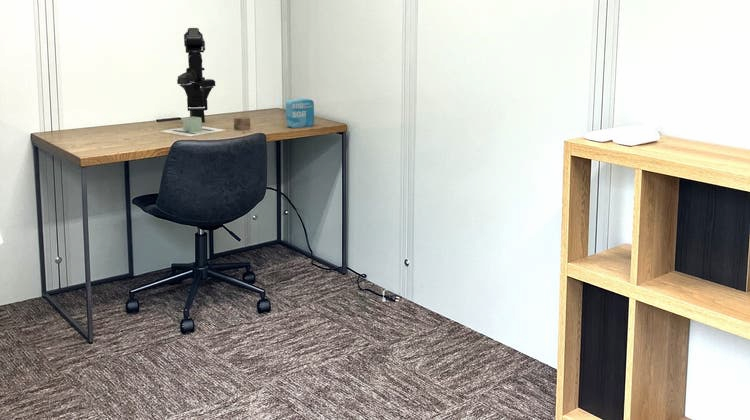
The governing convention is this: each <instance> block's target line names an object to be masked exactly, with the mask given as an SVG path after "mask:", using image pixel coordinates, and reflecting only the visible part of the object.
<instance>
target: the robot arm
mask: <svg viewBox="0 0 750 420" xmlns="http://www.w3.org/2000/svg"><path fill="white" fill-rule="evenodd" d="M183 43H184V47H185V53H186V54H187V61H188V67H186V69H185V72H183V73H181V74H180V75H178V76H177V79H176V81H177V85H179V86H180V87H181V88H182V89H183V91H184V92H185V95H186V105H187V106H186V107H187V111H188V112H189V117H200V118H201V119H202V123H205V122H206V118H205V117H206V116H205V111H208V97H209V95H210V93H211V91H212V90H213V89H214V87H216V80H214V79H212V78H211V79H210V78H207V79H206V77H204V76H203V73H204V72H203V71H205V67H203V56H202V53H205V51H206V42H205V39H204V34H203V33H201V32H200V28H198V27H188V28H187V30H186V32H185V33H184V34H183Z"/></svg>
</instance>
